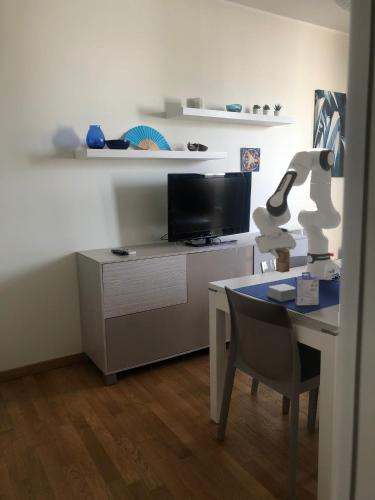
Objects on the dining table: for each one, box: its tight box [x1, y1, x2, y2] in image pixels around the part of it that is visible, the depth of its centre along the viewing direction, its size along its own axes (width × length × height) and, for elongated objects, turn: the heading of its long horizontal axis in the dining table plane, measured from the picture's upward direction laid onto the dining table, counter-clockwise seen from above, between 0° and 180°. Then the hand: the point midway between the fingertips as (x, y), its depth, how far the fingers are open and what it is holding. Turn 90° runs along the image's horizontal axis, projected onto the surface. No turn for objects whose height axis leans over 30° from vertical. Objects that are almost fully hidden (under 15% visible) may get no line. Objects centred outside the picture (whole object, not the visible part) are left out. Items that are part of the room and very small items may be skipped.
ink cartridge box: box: [294, 271, 320, 306], centre depth 187 cm, size 10×6×14 cm, turn 89°
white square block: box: [267, 283, 295, 303], centre depth 199 cm, size 10×10×5 cm
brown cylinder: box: [275, 250, 291, 274], centre depth 196 cm, size 4×4×10 cm
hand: (283, 257), depth 195 cm, fingers closed on brown cylinder, 4 cm apart
